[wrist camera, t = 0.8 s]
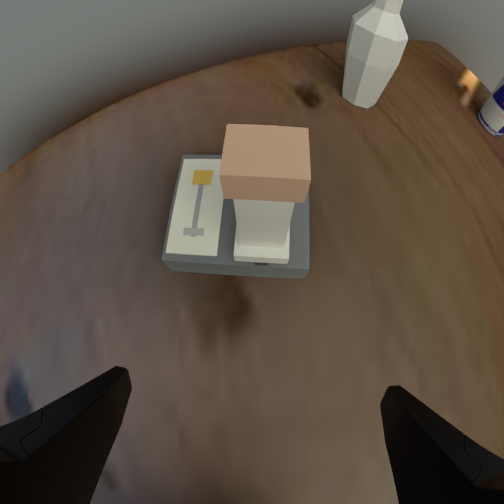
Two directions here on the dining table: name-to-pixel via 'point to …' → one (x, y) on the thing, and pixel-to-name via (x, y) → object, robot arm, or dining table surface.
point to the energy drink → (494, 111)
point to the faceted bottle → (373, 51)
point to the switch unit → (221, 228)
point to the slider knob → (264, 186)
